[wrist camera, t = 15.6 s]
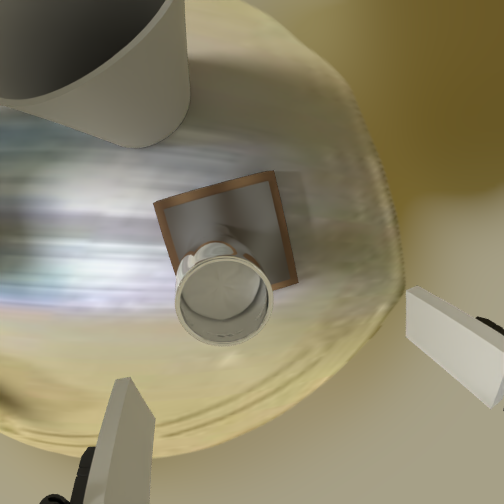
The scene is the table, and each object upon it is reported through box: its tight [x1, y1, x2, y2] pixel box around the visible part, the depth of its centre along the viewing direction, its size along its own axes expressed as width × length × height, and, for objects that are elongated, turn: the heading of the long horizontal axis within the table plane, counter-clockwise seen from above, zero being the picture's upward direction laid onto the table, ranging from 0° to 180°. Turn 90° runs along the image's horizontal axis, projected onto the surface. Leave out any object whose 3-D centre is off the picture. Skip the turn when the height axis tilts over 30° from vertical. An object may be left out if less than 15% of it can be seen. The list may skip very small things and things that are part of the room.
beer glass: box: [175, 224, 273, 346], centre depth 27 cm, size 7×7×15 cm
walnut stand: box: [153, 170, 299, 291], centre depth 36 cm, size 14×14×4 cm
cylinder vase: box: [0, 0, 191, 148], centre depth 20 cm, size 12×12×25 cm
